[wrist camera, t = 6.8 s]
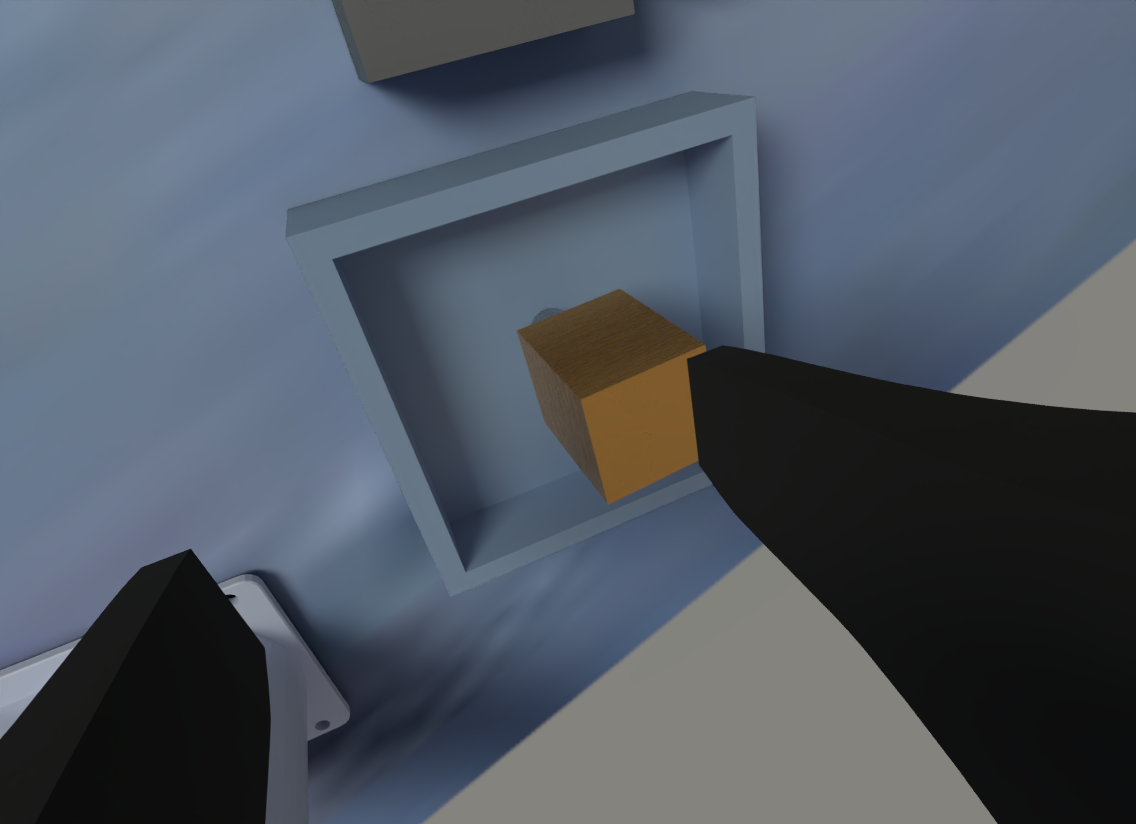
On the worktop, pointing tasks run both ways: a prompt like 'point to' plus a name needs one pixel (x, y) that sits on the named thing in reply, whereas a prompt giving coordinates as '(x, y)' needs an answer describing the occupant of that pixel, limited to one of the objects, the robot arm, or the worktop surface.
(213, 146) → the worktop surface
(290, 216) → the tray
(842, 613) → the robot arm
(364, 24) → the block
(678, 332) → the orange rectangular block
